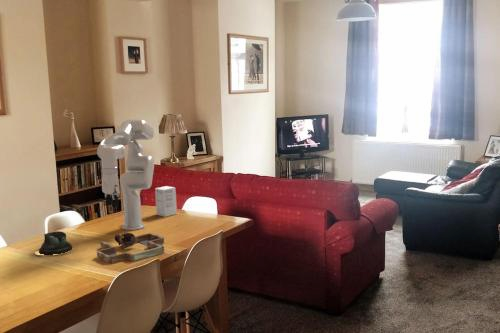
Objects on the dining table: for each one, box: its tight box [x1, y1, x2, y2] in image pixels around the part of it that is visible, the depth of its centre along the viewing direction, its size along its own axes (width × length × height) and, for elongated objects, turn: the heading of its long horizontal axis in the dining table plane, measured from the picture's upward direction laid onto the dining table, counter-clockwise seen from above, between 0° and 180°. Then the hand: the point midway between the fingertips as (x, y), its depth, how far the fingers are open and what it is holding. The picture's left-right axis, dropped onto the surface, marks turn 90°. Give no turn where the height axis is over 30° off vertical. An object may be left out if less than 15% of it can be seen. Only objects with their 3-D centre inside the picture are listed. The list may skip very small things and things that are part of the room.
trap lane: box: [96, 232, 165, 264], centre depth 253 cm, size 30×35×3 cm
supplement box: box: [154, 185, 178, 218], centre depth 321 cm, size 10×9×17 cm
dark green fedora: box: [38, 230, 73, 255], centre depth 255 cm, size 20×20×9 cm
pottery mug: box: [114, 232, 138, 251], centre depth 258 cm, size 12×10×8 cm
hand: (112, 205), depth 262 cm, fingers open, 6 cm apart
